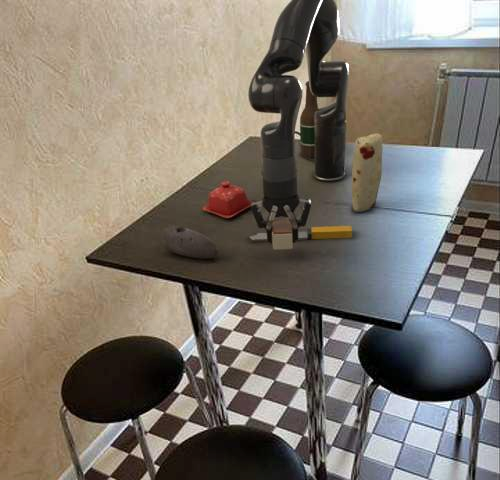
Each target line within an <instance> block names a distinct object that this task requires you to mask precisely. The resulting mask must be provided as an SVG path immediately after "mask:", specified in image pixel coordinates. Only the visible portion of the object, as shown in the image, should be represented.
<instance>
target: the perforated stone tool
mask: <svg viewBox="0 0 500 480" xmlns="http://www.w3.org/2000/svg"><path fill="white" fill-rule="evenodd" d="M161 238H162V243H163V246H164V248H165V249H166V250H167V251H169V252H171V253H173V254H176V255H178V256H182V257H188V258H194V259H201V260H210V259H214V258H216V257H217V256H218V253H219V249H218V247H217V245H216V243H214V241H213V240H212V239H211V238H209V237H208V236H206V235H205V234H203V233H200V232H198V231H196V230H194V229H190V228H188V227H184V226H179V225H173V224H171V225H169V226H166V227H165V228H164V229H163V231H161Z"/></svg>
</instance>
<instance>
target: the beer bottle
mask: <svg viewBox="0 0 500 480" xmlns="http://www.w3.org/2000/svg"><path fill="white" fill-rule="evenodd" d="M318 109H320V108H319V105H318V97H315V96H313V95H312V93H311V91H310V87H309V80H307V81H306V82H305V103H304V108H303V110H302V111H301V114H300V116H299V133H300V136H299V141H300V142H299V143H300V144H299V145H300V147H299V148H300V155H301V156H302V157H303V158H305V157H304V156H305V155H306V156H308V157H309V158H311V159H315V112H316V111H317V110H318ZM305 159H306V158H305Z"/></svg>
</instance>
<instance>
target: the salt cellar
mask: <svg viewBox="0 0 500 480" xmlns="http://www.w3.org/2000/svg"><path fill="white" fill-rule="evenodd" d="M272 226H273V231H272V241H273V243H272V250H293V249H294V243H293V238H292V225H291V222H290V221H289V220H279V221H274V222H273V224H272Z"/></svg>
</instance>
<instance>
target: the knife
mask: <svg viewBox="0 0 500 480" xmlns="http://www.w3.org/2000/svg"><path fill="white" fill-rule="evenodd" d="M351 238H353V228H352V225H336V226H335V225H334V226H332V225H331V226H311V227H308V228H307V231H298V240H297V241H308V240H321V239H322V240H323V239H324V240H325V239H326V240H327V239H351ZM249 240H250V241H251V242H252V243H255V242H257V243H259V242H269V241H268V240H267V232H257V233H256V234H254V235H251V236H249Z"/></svg>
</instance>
